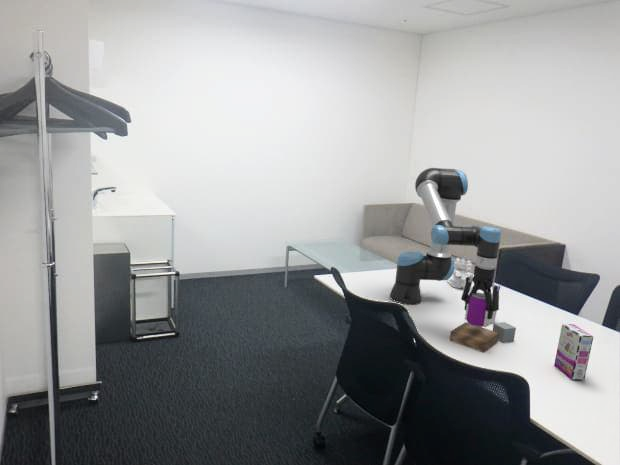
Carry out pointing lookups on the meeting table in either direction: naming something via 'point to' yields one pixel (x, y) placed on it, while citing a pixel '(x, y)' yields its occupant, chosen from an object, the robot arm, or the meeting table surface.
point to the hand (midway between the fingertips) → (476, 322)
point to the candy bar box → (573, 351)
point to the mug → (493, 313)
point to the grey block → (504, 332)
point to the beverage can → (477, 310)
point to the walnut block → (474, 337)
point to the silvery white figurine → (460, 273)
